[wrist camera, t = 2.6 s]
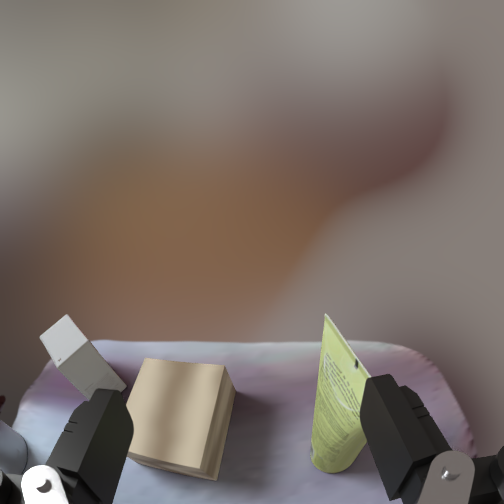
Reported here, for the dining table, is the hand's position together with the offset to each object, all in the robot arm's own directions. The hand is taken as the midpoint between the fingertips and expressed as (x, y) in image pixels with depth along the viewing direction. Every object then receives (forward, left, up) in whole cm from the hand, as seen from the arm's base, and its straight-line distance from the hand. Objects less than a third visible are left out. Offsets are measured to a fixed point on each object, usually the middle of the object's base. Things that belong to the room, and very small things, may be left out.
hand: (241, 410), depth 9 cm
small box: (-28, +11, -25) cm, 39 cm away
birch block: (-13, +7, -25) cm, 29 cm away
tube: (+4, +5, -25) cm, 26 cm away
